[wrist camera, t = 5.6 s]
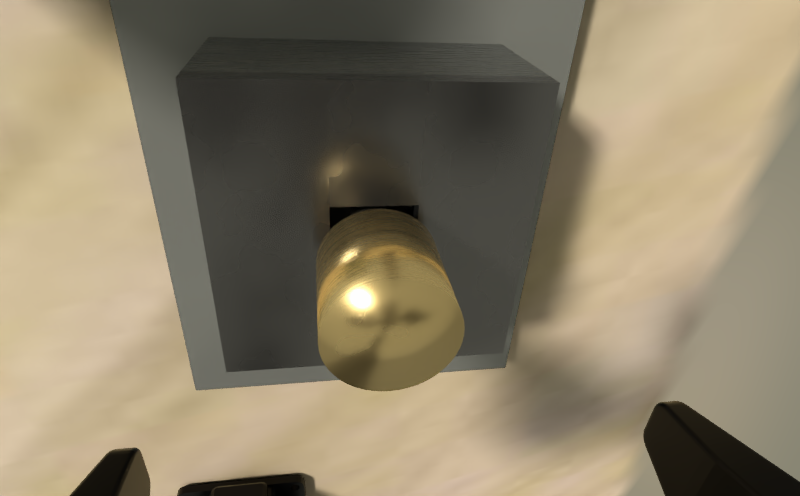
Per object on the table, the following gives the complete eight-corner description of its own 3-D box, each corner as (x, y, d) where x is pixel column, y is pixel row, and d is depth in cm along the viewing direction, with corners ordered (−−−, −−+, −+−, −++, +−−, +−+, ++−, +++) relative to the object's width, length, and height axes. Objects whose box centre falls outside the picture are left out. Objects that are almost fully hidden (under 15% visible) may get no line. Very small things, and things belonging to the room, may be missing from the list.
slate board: (498, 352, 26) (505, 367, 25) (199, 373, 23) (195, 390, 23) (604, -163, 15) (621, -168, 14) (76, -210, 13) (60, -219, 12)
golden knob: (408, 221, 19) (463, 390, 13) (310, 224, 19) (311, 403, 12) (414, 128, 18) (483, 266, 11) (305, 128, 17) (304, 274, 10)
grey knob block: (468, 275, 21) (503, 353, 18) (241, 285, 20) (226, 372, 16) (502, 44, 17) (559, 83, 13) (208, 37, 15) (174, 77, 12)
